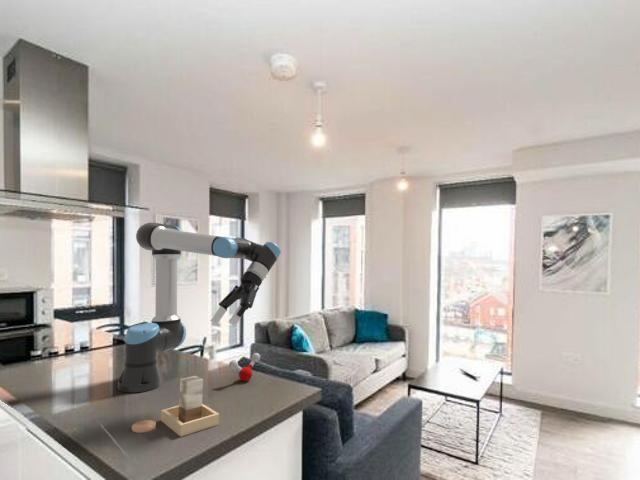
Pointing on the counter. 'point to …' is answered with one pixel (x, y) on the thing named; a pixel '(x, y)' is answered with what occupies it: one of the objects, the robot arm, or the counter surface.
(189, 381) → the two-tone block
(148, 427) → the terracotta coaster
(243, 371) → the molecular model
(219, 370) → the counter surface
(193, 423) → the beige open tray
